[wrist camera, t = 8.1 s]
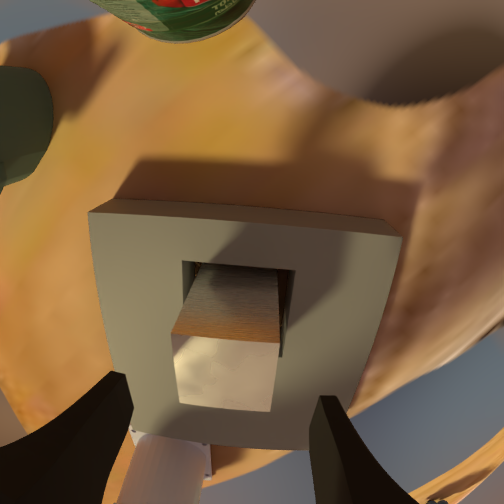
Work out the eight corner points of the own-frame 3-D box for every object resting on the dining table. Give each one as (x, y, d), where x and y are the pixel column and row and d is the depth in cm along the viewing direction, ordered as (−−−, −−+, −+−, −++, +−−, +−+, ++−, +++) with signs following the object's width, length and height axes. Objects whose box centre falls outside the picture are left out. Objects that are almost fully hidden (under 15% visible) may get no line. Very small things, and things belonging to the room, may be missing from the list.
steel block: (270, 314, 20) (269, 411, 13) (208, 309, 20) (179, 402, 13) (276, 256, 18) (279, 343, 11) (207, 251, 19) (170, 333, 11)
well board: (325, 422, 24) (329, 449, 21) (142, 404, 24) (132, 430, 22) (383, 219, 17) (402, 237, 14) (112, 198, 18) (87, 212, 15)
